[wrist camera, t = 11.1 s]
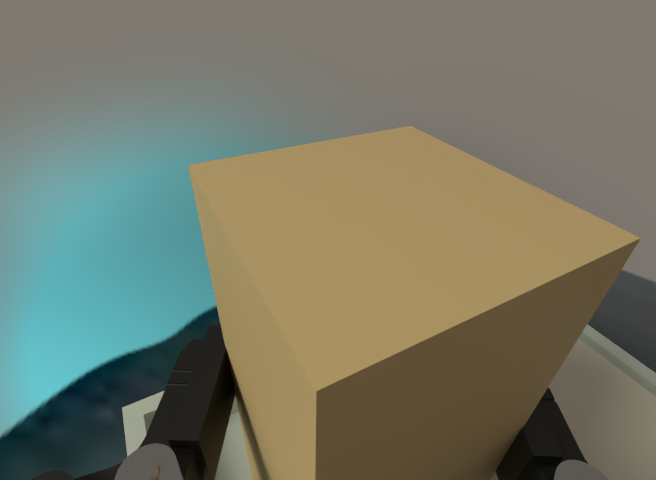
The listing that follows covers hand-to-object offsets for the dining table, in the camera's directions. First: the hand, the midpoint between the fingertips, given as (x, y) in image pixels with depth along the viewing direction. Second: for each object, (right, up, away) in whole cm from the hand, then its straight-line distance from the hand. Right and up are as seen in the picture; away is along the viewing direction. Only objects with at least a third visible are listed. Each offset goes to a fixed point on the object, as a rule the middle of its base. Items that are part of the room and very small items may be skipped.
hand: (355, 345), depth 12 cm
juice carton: (0, -8, +3) cm, 9 cm away
